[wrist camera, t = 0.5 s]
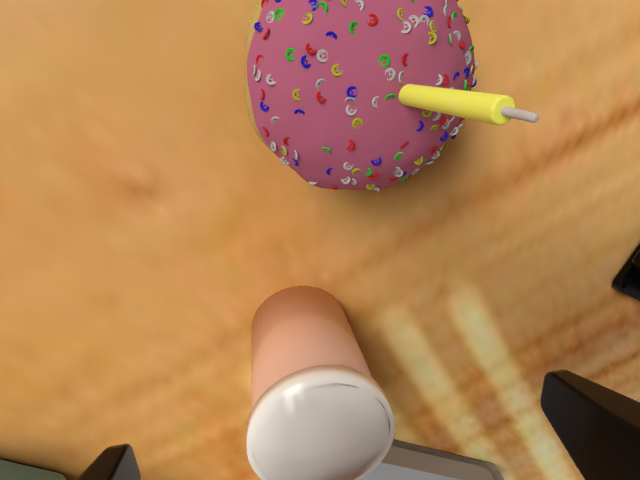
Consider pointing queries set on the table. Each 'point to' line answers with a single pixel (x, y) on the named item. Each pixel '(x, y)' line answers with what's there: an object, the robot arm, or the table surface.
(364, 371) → the cup
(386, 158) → the cupcake
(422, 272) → the table surface
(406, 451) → the tray
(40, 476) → the flower pot
